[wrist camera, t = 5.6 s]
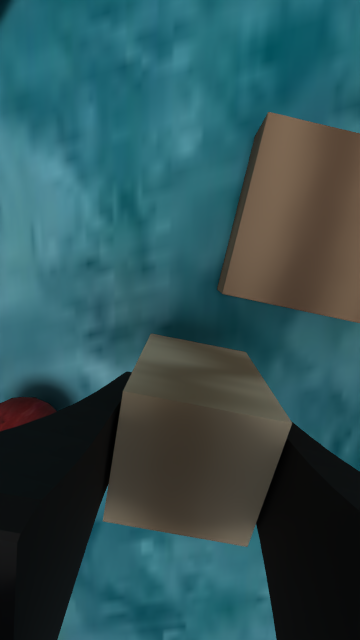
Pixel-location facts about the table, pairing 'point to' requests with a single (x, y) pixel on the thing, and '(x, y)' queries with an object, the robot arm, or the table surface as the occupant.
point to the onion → (22, 411)
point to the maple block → (194, 443)
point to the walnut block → (298, 220)
